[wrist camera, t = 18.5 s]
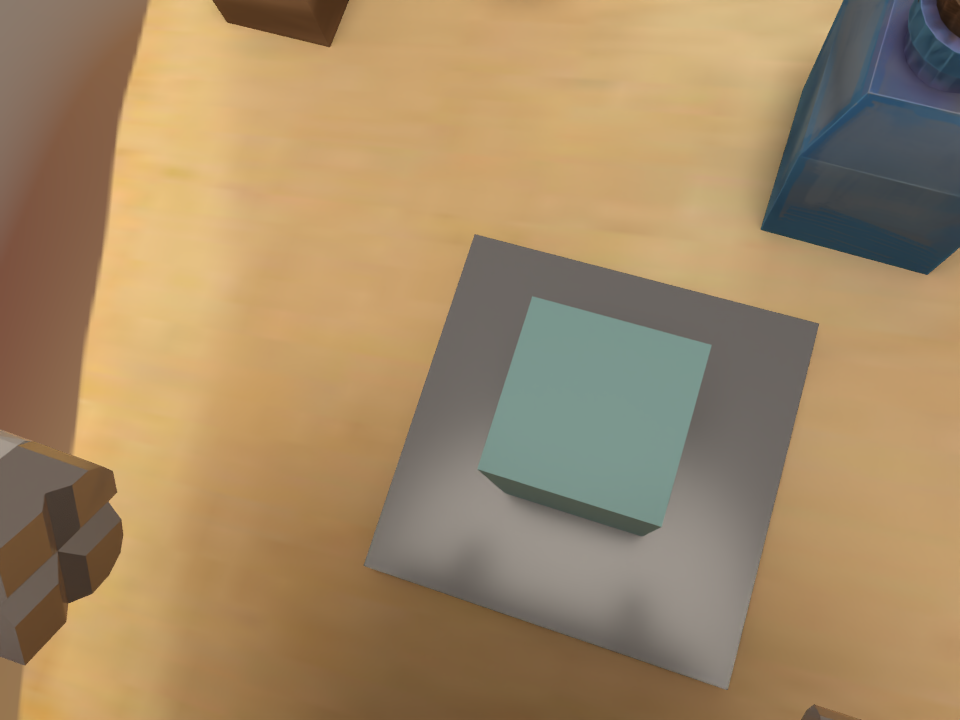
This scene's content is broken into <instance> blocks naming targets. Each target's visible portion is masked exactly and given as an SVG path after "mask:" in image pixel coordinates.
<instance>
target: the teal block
mask: <svg viewBox="0 0 960 720" xmlns="http://www.w3.org/2000/svg"><path fill="white" fill-rule="evenodd" d="M711 346H712V345H710V344H706V343H703V342H699V341H695V340H692V339H688V338H684V337H680V336H677V335H673V334H669V333H666V332H662V331H658V330H655V329H651V328H647V327H644V326H640V325H636V324H633V323H629V322H625V321H622V320H618V319H614V318H611V317H607V316H603V315H600V314H596V313H592V312H589V311H585V310H581V309H577V308H574V307H570V306H566V305H563V304H559V303H555V302H552V301H548V300H544V299H541V298H537V297H533V296H532V299H531V302H530V305H529V308H528V312H527V315H526V318H525V321H524V324H523V327H522V330H521V333H520V337H519V340H518V343H517V346H516V349H515V352H514V355H513V358H512V362H511V365H510V368H509V371H508V374H507V377H506V380H505V384H504V387H503V390H502V393H501V396H500V399H499V402H498V405H497V409H496V412H495V415H494V418H493V421H492V424H491V427H490V430H489V434H488V437H487V440H486V443H485V446H484V449H483V452H482V455H481V459H480V462H479V465H478V468H477V469H478V470H479V471H480V472H481V473H482V474H483V475H484V476H486V477H487V478H488V479H489V480H490V481H491V482H493V483H494V484H495V485H496V486H497V487H498V488H499V489H501V490H502V491H503V492H504V493H506V494H509V495H512V496H516V497H519V498H522V499H525V500H528V501H531V502H534V503H538V504H541V505H544V506H547V507H550V508H553V509H557V510H560V511H563V512H566V513H569V514H572V515H575V516H579V517H582V518H585V519H588V520H591V521H594V522H598V523H601V524H604V525H607V526H610V527H613V528H616V529H620V530H623V531H626V532H629V533H632V534H635V535H639V536H644V535H646V534H648V533H650V532H652V531H655V530H657V529H659V528H661V527H662V524H663V520H664V517H665V513H666V509H667V506H668V502H669V499H670V495H671V491H672V488H673V484H674V480H675V477H676V473H677V469H678V466H679V462H680V459H681V455H682V451H683V448H684V444H685V440H686V437H687V433H688V429H689V426H690V422H691V419H692V415H693V411H694V408H695V404H696V400H697V397H698V393H699V389H700V386H701V382H702V379H703V375H704V371H705V368H706V364H707V360H708V357H709V353H710V349H711Z"/></svg>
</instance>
